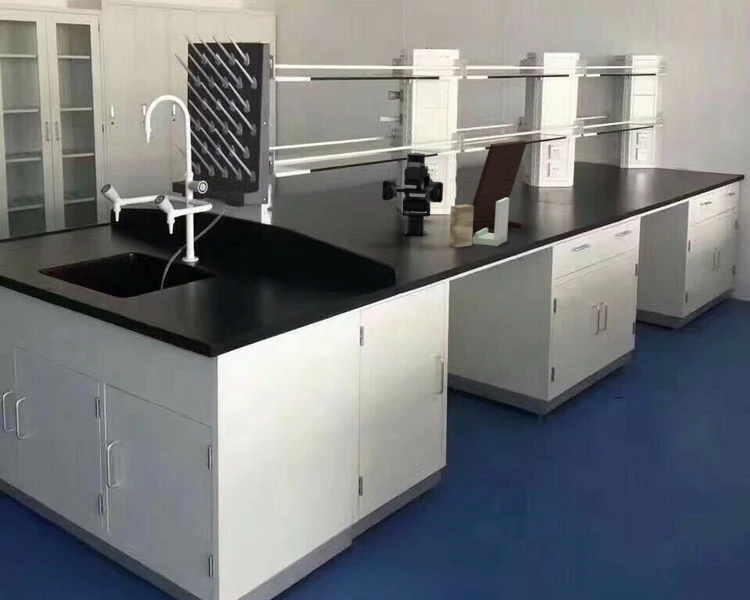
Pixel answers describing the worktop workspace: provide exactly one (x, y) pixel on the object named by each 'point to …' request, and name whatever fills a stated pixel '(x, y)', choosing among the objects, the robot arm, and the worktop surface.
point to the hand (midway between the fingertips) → (410, 195)
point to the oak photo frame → (461, 225)
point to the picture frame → (496, 182)
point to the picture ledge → (500, 226)
